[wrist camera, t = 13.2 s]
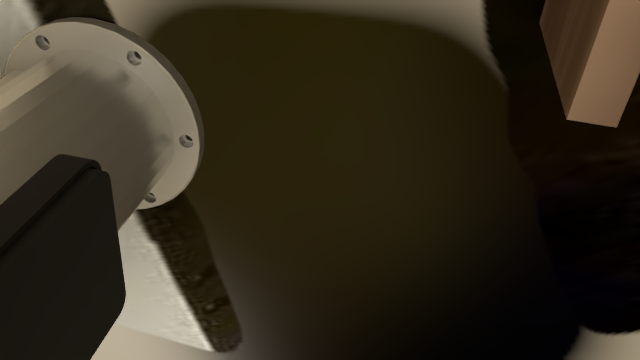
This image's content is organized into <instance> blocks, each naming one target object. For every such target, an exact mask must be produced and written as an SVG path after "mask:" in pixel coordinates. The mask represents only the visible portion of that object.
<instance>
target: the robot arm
mask: <svg viewBox="0 0 640 360" xmlns="http://www.w3.org/2000/svg"><path fill="white" fill-rule="evenodd" d="M203 152H204V127H203V122H202V117H201V113H200V110H199V108H198V105H197V103H196V100H195V98H194V95H193V93H192V92H191V90H190V88H189V87H188V85H187V83H186V82H185V80H184V78H183V77H182V75H181V74H180V73H179V72H178V71H177V69H176V68H175V67H174V66H173V65H172V63H171V62H170V61H169V60H168V59H167V58H166V57H165V56H164V55H162V54H161V53H160V52H159V51H158V50H157V49H156V48H155V47H154V46H153V45H151V44H150V43H148V42H147V41H145V40H144V39H142V38H141V37H139V36H138V35H136V34H135V33H133V32H131V31H129V30H126V29H124V28H122V27H120V26H117V25H115V24H113V23H109V22H105V21H102V20H98V19H94V18H81V17H70V18H64V19H58V20H54V21H51V22H49V23H47V24H44V25H42V26H40V27H38V28H37V29H35V30H33V31H32V32H30V33H29V34H27V35H25V36H24V37H23V38H22V39H21V40H20V41H19V42H18V44H17V45H16V46H15V47H14V48H13V50H12V52H11V54H10V56H9V58H8V60H7V63H6V67H5V72H4V77H3V78H1V79H0V360H90V359H91V358H92V356H93V355H94V353H95V352H96V350H97V348H98V347H99V345H100V344H101V342H102V341H103V339H104V338H105V336H106V335H107V333H108V332H109V330H110V328H111V327H112V326H113V324H114V322H115V321H116V319H117V318H118V316H119V315H120V313H121V311H122V309H123V306H124V302H125V297H126V290H125V282H124V275H123V268H122V260H121V253H120V245H119V238H118V231H119V230H120V228H121V227H122V226H123V225H124V223H125V222H126V221H127V220H128V218H129V217H130V216H131V215H132V213H133V212H134V211H135V210H136V209H147V208H151V207H155V206H159V205H162V204H164V203H166V202H168V201H170V200H172V199H174V198H175V197H176V196H177V195H178V194H180V193H181V192H182V191H183V190H184V189H185V188H186V187H187V185H188V184H189V183H190V181H191V180H192V179H193V177H194V176H195V174H196V172H197V170H198V168H199V166H200V164H201V160H202V156H203Z"/></svg>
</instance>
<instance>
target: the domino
mask: <svg viewBox="0 0 640 360" xmlns="http://www.w3.org/2000/svg"><path fill="white" fill-rule="evenodd" d="M539 23H540V27H541V30H542V34H543V38H544V41H545V45H546V48H547V52H548V55H549V59H550V62H551V66H552V69H553V73H554V77H555V80H556V84H557V87H558V91H559V94H560V98H561V101H562V105H563V108H564V112H565V116H566V119H567V120H573V121H580V122H586V123H592V124H598V125H604V126H610V127H616V128H617V125H618V123H619V120H620V118H621V116H622V113H623V111H624V108H625V106H626V104H627V101H628V99H629V97H630V94H631V92H632V89H633V87H634V85H635V82H636V80H637V78H638V75H639V73H640V0H546V1H545V4H544V8H543V11H542V14H541V18H540V21H539Z"/></svg>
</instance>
